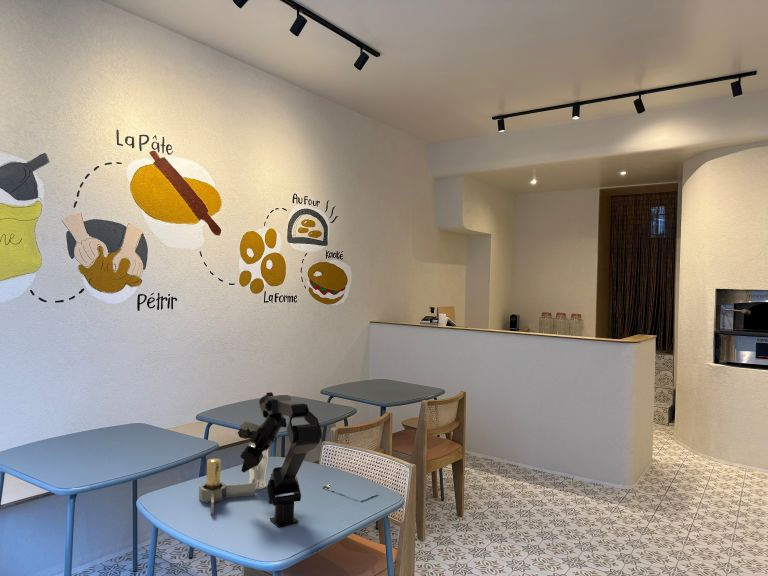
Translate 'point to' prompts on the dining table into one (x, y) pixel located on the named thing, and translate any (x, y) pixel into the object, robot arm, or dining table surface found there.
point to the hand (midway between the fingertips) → (247, 464)
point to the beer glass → (259, 471)
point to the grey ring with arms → (225, 492)
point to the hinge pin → (213, 474)
